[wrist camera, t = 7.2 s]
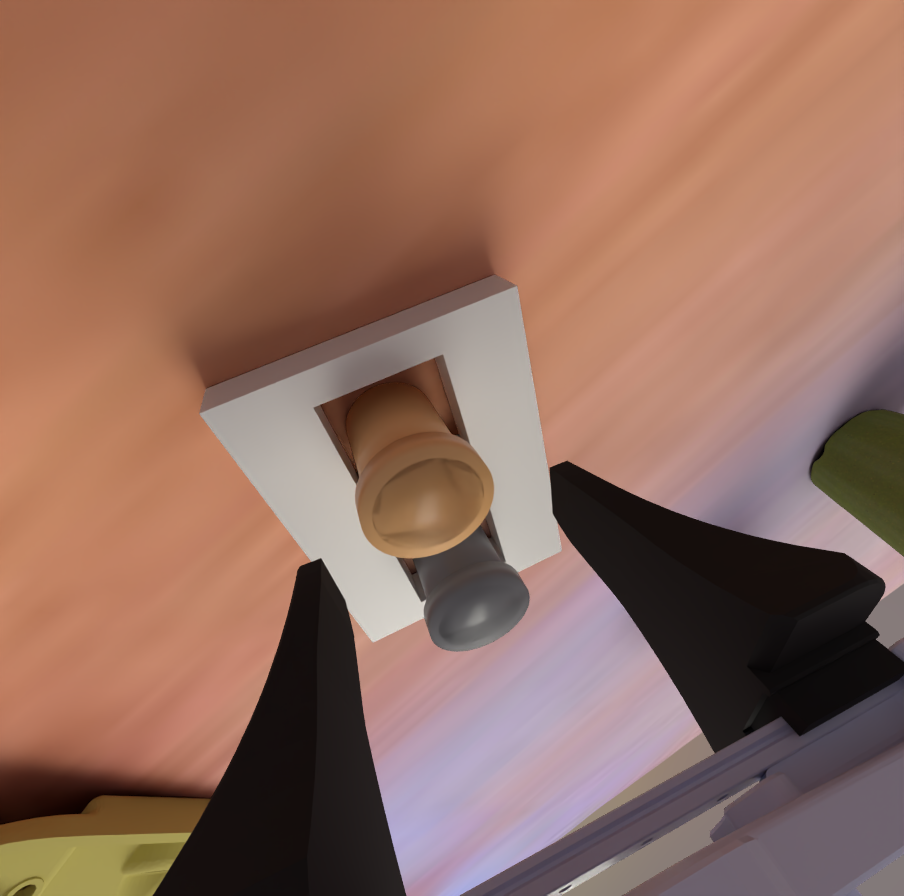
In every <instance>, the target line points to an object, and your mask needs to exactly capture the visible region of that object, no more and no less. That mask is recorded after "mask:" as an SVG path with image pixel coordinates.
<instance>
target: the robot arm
mask: <svg viewBox="0 0 904 896" xmlns="http://www.w3.org/2000/svg"><path fill="white" fill-rule="evenodd" d="M550 482H551V497H552V513H553V515H554V517H555V519H556V520H557V522H558V524H559V525H560V527H561V528H562V530H563V531H564V533H565V534H566V536H567V537H568V539H569V541H570V542H571V543H572V544H573V546H574V547H575V548H576V549H577V550H578V552H579V553H580V554H581V555H582V556H583V558H584V559H585V560H586V561H587V562H588V564H589V565H590V566H591V567H592V568H593V570H594V571H595V572H596V573H597V574H598V576H599V577H600V578H601V579H602V580H603V582H604V583H605V584H606V585H607V586H608V588H609V589H610V590H611V591H612V592H613V594H614V595H615V596H616V597H617V599H618V600H619V601H620V603H621V604H622V605H623V606H624V608H625V609H626V611H627V612H628V614H629V615H630V617H631V618H632V619H633V621H634V622H635V624H636V625H637V627H638V628H639V630H640V631H641V633H642V634H643V636H644V637H645V639H646V640H647V642H648V643H649V645H650V646H651V648H652V649H653V651H654V653H655V654H656V656H657V657H658V659H659V660H660V662H661V663H662V665H663V666H664V668H665V670H666V671H667V673H668V675H669V676H670V678H671V679H672V681H673V683H674V684H675V686H676V688H677V689H678V691H679V692H680V694H681V696H682V697H683V699H684V701H685V702H686V704H687V706H688V708H689V709H690V711H691V713H692V714H693V716H694V718H695V720H696V721H697V723H698V725H699V726H700V728H701V730H702V731H703V733H704V735H705V737H706V738H707V740H708V742H709V744H710V746H711V747H712V749H713V751H714V752H715V754H713V755H711V756H709V757H708V758H706V759H704V760H702V761H700V762H699V763H697V764H695V765H693V766H691V767H690V768H688V769H686V770H684V771H682V772H681V773H679V774H677V775H675V776H674V777H672V778H670V779H668V780H666V781H665V782H663V783H661V784H659V785H658V786H656V787H654V788H652V789H650V790H649V791H647V792H645V793H643V794H641V795H639V796H638V797H636V798H634V799H632V800H630V801H629V802H627V803H625V804H623V805H621V806H620V807H618V808H616V809H614V810H612V811H611V812H609V813H607V814H605V815H603V816H602V817H600V818H598V819H596V820H595V821H593V822H591V823H589V824H587V825H586V826H584V827H582V828H580V829H578V830H577V831H575V832H573V833H571V834H569V835H568V836H566V837H564V838H562V839H560V840H559V841H557V842H555V843H553V844H551V845H550V846H548V847H546V848H544V849H542V850H541V851H539V852H537V853H535V854H533V855H532V856H530V857H528V858H526V859H524V860H523V861H521V862H519V863H517V864H515V865H514V866H512V867H510V868H508V869H506V870H505V871H503V872H501V873H499V874H497V875H496V876H494V877H492V878H490V879H489V880H487V881H485V882H483V883H481V884H480V885H478V886H476V887H474V888H472V889H471V890H469V891H467V892H465V893H463V894H462V895H460V896H561V895H562V894H564V893H566V892H568V891H569V890H571V889H573V888H575V887H576V886H578V885H580V884H581V883H583V882H585V881H587V880H588V879H590V878H592V877H593V876H595V875H597V874H599V873H600V872H602V871H604V870H605V869H607V868H609V867H611V866H612V865H614V864H616V863H618V862H619V861H621V860H623V859H624V858H626V857H628V856H630V855H631V854H633V853H635V852H636V851H638V850H640V849H642V848H643V847H645V846H646V845H648V844H650V843H652V842H654V841H655V840H657V839H659V838H661V837H662V836H664V835H666V834H667V833H669V832H671V831H673V830H674V829H676V828H678V827H679V826H681V825H683V824H684V823H686V822H688V821H690V820H691V819H693V818H695V817H697V816H698V815H700V814H702V813H703V812H705V811H707V810H709V809H711V808H712V807H714V806H716V805H717V804H719V803H721V802H722V801H724V800H726V799H728V798H729V797H731V796H733V795H735V794H736V793H738V792H740V791H741V790H743V789H745V788H747V787H748V786H750V785H752V784H753V783H755V782H757V781H759V780H760V781H759V783H758V784H757V785H755V786H754V787H753V788H751V789H750V790H749V791H747V792H746V793H745V794H743V795H742V796H741V797H739V798H738V799H736V800H735V801H733V802H732V803H731V804H729V805H728V806H727V807H725V808H724V816H723V817H722V819H721V821H720V822H719V823H718V824H717V825H716V826H715V827H714V828H713V829H712V830H711V831H710V837H711V839H712V840H713V842H714V843H712V844H710V845H708V846H706V847H705V848H703V849H701V850H699V851H697V852H695V853H693V854H692V855H690V856H688V857H686V858H685V859H683V860H681V861H679V862H678V863H676V864H674V865H673V866H671V867H669V868H667V869H666V870H664V871H662V872H660V873H659V874H657V875H655V876H654V877H652V878H650V879H649V880H647V881H645V882H644V883H642V884H640V885H639V886H637V887H636V888H634V889H632V890H631V891H629V892H627V893H626V894H624V895H622V896H862V895H861V894H860V893H859V891H858V890H857V889H856V887H857V886H859V885H860V884H862V883H863V882H865V881H866V880H868V879H869V878H870V877H872V876H873V875H875V874H876V873H878V872H879V871H880V870H882V869H883V868H885V867H886V866H887V865H889V864H890V863H892V862H893V861H895V860H896V859H897V858H899V857H900V856H902V855H903V854H904V638H902V639H901V640H899V641H897V642H896V643H895V644H893V645H892V646H891V647H890V648H889V649H887V648H886V647H885V646H883V645H882V644H881V643H880V642H878V641H877V640H876V638H878V636H879V633H878V631H877V630H876V629H874V628H873V627H872V626H870V625H869V624H868V623H867V622H865V621H866V619H867V618H868V616H869V615H870V614H871V612H872V611H873V609H874V608H875V606H876V605H877V604H878V602H879V601H880V599H881V598H882V596H883V594H884V592H885V582H884V581H883V579H882V578H880V577H879V576H877V575H876V574H874V573H873V572H871V571H870V570H868V569H867V568H866V567H864V566H863V565H861V564H860V563H858V562H857V561H855V560H854V559H852V558H851V557H849V556H848V555H846V554H845V553H840V552H834V551H827V550H821V549H815V548H809V547H803V546H797V545H792V544H787V543H782V542H777V541H773V540H768V539H763V538H759V537H755V536H751V535H747V534H743V533H739V532H736V531H732V530H729V529H725V528H721V527H718V526H715V525H711V524H708V523H705V522H702V521H699V520H696V519H693V518H690V517H688V516H685V515H682V514H679V513H676V512H674V511H671V510H669V509H666V508H664V507H661V506H659V505H656V504H654V503H652V502H649V501H647V500H645V499H642V498H640V497H638V496H636V495H634V494H631V493H629V492H627V491H625V490H623V489H621V488H619V487H617V486H615V485H613V484H611V483H609V482H607V481H605V480H603V479H601V478H599V477H597V476H595V475H593V474H592V473H590V472H588V471H586V470H584V469H582V468H580V467H578V466H576V465H574V464H572V463H570V462H569V461H565V462H563V463H560V464H558V465H555V466H553V467H550ZM153 896H406V893H405V889H404V885H403V881H402V878H401V874H400V870H399V866H398V862H397V858H396V855H395V851H394V847H393V843H392V839H391V835H390V831H389V827H388V823H387V818H386V814H385V810H384V806H383V802H382V798H381V793H380V789H379V785H378V781H377V776H376V772H375V768H374V763H373V759H372V754H371V750H370V745H369V740H368V736H367V731H366V726H365V720H364V714H363V706H362V698H361V690H360V681H359V673H358V665H357V657H356V649H355V641H354V634H353V629H352V625H351V621H350V617H349V613H348V609H347V605H346V601H345V599H344V597H343V595H342V593H341V592H340V590H339V588H338V586H337V585H336V583H335V581H334V579H333V578H332V576H331V574H330V573H329V571H328V569H327V567H326V566H325V564H324V562H323V560H322V559H321V558H320V559H317V560H315V561H312V562H310V563H307V564H305V565H302V566H300V567H299V569H298V571H297V576H296V581H295V586H294V590H293V595H292V599H291V603H290V607H289V611H288V615H287V618H286V622H285V625H284V629H283V632H282V636H281V639H280V642H279V646H278V649H277V652H276V655H275V657H274V660H273V663H272V666H271V669H270V672H269V675H268V678H267V680H266V683H265V686H264V688H263V691H262V693H261V696H260V698H259V701H258V703H257V706H256V708H255V710H254V713H253V715H252V717H251V720H250V722H249V724H248V726H247V728H246V731H245V733H244V735H243V737H242V739H241V741H240V743H239V746H238V748H237V750H236V752H235V754H234V756H233V758H232V760H231V762H230V764H229V766H228V768H227V770H226V772H225V774H224V776H223V777H222V779H221V781H220V783H219V785H218V786H217V788H216V790H215V792H214V794H213V796H212V797H211V799H210V801H209V803H208V805H207V807H206V808H205V810H204V812H203V814H202V816H201V817H200V819H199V821H198V823H197V824H196V826H195V828H194V830H193V831H192V833H191V835H190V836H189V838H188V839H187V841H186V843H185V844H184V846H183V847H182V849H181V851H180V852H179V854H178V856H177V857H176V859H175V860H174V862H173V864H172V865H171V867H170V869H169V870H168V872H167V873H166V875H165V877H164V878H163V880H162V882H161V883H160V885H159V886H158V888H157V889H156V891H155V892H154V894H153Z"/></svg>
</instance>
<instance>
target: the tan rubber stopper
mask: <svg viewBox="0 0 904 896" xmlns="http://www.w3.org/2000/svg"><path fill="white" fill-rule="evenodd" d="M346 431H347V436H348V439H349V443H350V446H351V449H352V453H353V456H354V460H355V463H356V467H357V470H358V474H359V479H358V482H357V486H356V490H355V504H356V509H357V513H358V517H359V521H360V525H361V529H362V531H363V533H364V535H365V537H366V539H367V540H368V541H369V542H370V543H371V544H372V546H374V547H375V548H376V549H378V550H379V551H381V552H383V553H385V554H388V555H391V556H395V557H400V558H422V557H427V556H432V555H435V554H438V553H441V552H443V551H446V550H448V549H450V548H452V547H454V546H456V545H457V544H459V543H461V542H462V541H463V540H465V539H466V538H467V537H469V536H470V535H471V534H472V533H473V532H474V531H475V530H476V529H477V528H478V527H479V526H480V524H481V523H482V522H483V520H484V519H485V517H486V515H487V514H488V512H489V509H490V507H491V504H492V501H493V496H494V482H493V478H492V475H491V472H490V470H489V469H488V467H487V466H486V464H485V463H484V461H483V460H482V459H481V457H480V456H479V454H478V453H477V452H476V450H475V449H474V448H473V447H472V446H471V445H470V444H469V443H468V442H467V441H465V440H463V439H462V438H460V437H458V436H455V435H452V434H451V433H450V431H449V430H448V428H447V427H446V425H445V424H444V422H443V421H442V419H441V418H440V416H439V415H438V413H437V412H436V410H435V409H434V407H433V406H432V404H431V403H430V401H429V400H428V398H427V397H426V396H425V394H423V393H422V392H421V391H420V390H419V389H417V388H415V387H413V386H411V385H408V384H404V383H396V382H393V383H385V384H381V385H377V386H375V387H373V388H371V389H369V390H367V391H366V392H364V393H363V394H362V395H361V396H360V397H359V398H358V399H357V400H356V401H355V402H354V404H353V405H352V407H351V408H350V411H349V413H348V416H347V421H346Z"/></svg>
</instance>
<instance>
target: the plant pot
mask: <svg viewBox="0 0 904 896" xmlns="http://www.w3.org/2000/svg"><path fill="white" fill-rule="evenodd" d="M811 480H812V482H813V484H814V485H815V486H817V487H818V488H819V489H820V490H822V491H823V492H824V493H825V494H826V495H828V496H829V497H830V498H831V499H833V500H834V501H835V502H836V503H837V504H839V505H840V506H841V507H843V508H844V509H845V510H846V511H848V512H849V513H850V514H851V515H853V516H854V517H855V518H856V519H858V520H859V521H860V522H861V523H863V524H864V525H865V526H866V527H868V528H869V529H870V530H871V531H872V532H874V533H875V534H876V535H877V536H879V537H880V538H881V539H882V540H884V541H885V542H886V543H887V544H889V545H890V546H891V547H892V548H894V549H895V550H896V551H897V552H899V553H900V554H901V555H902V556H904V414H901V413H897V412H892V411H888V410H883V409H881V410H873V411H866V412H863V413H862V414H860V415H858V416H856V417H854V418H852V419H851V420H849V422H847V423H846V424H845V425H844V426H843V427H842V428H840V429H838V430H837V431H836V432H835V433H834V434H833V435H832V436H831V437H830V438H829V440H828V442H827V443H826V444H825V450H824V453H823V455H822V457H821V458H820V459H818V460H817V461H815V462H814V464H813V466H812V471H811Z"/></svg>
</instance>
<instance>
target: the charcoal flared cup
mask: <svg viewBox="0 0 904 896" xmlns="http://www.w3.org/2000/svg"><path fill="white" fill-rule="evenodd" d="M413 561H414V564H415V567H416V570H417V572H418V575H419V578H420V581H421V584H422V586H423V589H424V592H425V595H426V598H427V600H426V602H425V605H424V619H425V621H426V624H427V627H428V630H429V633H430V636H431V639H432V641H433V642H434V644H436V645H437V646H438V647H440V648H442V649H444V650H448V651H468V650H472V649H476V648H480V647H482V646H485V645H487V644H489V643H492V642H494V641H495V640H497V639H499V638H500V637H502V636H504V635H505V634H506V633H508V632H509V631H510V630H511V629H512V628H513V627H514V626H515V625H516V624H517V623H518V622H519V621H520V620H521V619H522V617H523V616H524V614H525V612H526V610H527V608H528V605H529V599H530V596H529V592H528V589H527V588H526V586H525V584H524V583H523V581H522V579H521V578H520V576H519V574H518V573H517V571H516V570H515V569H514V568H513V567H512V566H511V565H509V564H507V563H504V562H501V560H500V558H499V557H498V555H497V553H496V551H495V550H494V548H493V546H492V544H491V543H490V541H489V539H488V537H487V536H486V534H485V532H484V530H483V529H482V527H481V525H480V526H479V527H478V528H477V529H476V530H475V531H474V532H473V533H472V534H471V535H470V536H469V537H467V538H466V539H465V540H463V541H462V542H461V543H459V544H457V545H456V546H454V547H452V548H450V549H448V550H446V551H443V552H441V553H438V554H435V555H432V556H427V557H422V558H413Z"/></svg>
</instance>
